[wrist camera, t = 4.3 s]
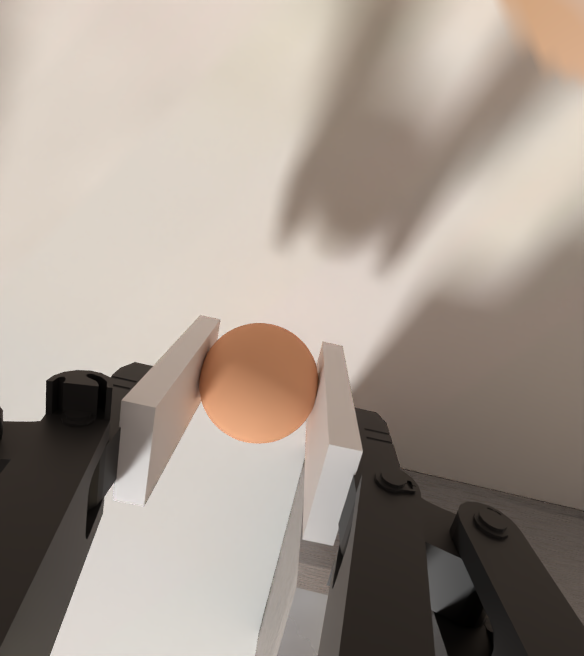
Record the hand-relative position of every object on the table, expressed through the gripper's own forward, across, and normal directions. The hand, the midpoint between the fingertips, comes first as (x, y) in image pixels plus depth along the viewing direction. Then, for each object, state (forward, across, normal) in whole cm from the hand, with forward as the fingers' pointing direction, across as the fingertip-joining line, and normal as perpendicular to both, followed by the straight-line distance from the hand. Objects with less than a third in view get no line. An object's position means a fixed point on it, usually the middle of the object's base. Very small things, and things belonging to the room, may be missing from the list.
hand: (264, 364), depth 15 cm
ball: (0, 0, 0) cm, 0 cm away
